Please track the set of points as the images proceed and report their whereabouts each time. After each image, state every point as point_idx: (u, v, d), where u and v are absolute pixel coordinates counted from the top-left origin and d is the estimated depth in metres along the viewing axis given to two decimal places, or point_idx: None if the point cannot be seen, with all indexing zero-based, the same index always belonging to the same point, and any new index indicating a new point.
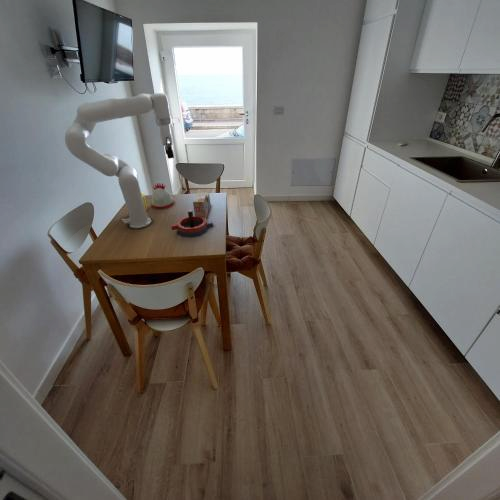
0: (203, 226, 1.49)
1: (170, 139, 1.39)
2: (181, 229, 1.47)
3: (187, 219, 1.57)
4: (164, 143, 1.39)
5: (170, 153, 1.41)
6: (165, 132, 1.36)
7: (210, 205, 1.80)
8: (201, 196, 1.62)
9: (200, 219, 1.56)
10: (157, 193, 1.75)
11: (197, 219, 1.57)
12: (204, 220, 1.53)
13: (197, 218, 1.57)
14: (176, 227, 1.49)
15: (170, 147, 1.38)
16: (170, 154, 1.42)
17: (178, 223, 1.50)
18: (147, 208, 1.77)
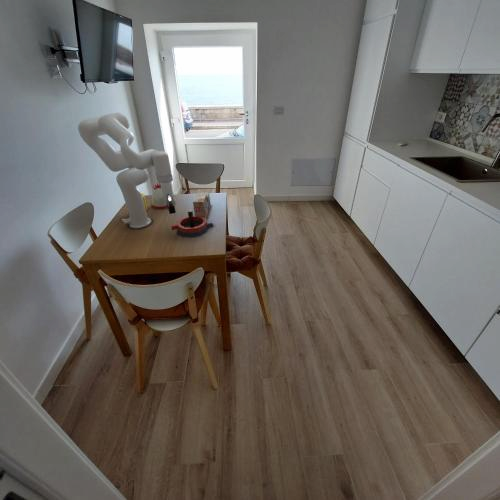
0: (203, 226, 1.49)
1: (171, 196, 1.35)
2: (181, 229, 1.47)
3: (187, 219, 1.57)
4: (165, 200, 1.35)
5: (172, 209, 1.37)
6: (166, 189, 1.33)
7: (210, 205, 1.80)
8: (201, 196, 1.62)
9: (200, 219, 1.56)
10: (157, 193, 1.75)
11: (197, 219, 1.57)
12: (204, 220, 1.53)
13: (197, 218, 1.57)
14: (176, 227, 1.49)
15: (172, 204, 1.34)
16: (172, 210, 1.38)
17: (178, 223, 1.50)
18: (147, 208, 1.77)
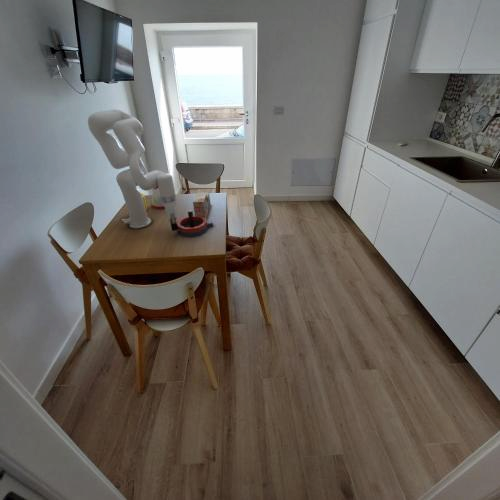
0: (203, 226, 1.49)
1: (175, 215, 1.41)
2: (181, 229, 1.47)
3: (187, 219, 1.57)
4: (169, 219, 1.41)
5: (174, 226, 1.47)
6: (170, 209, 1.38)
7: (210, 205, 1.80)
8: (201, 196, 1.62)
9: (200, 219, 1.56)
10: (157, 193, 1.75)
11: (197, 219, 1.57)
12: (204, 220, 1.53)
13: (197, 218, 1.57)
14: None
15: (174, 222, 1.44)
16: (174, 227, 1.47)
17: (178, 223, 1.50)
18: (147, 208, 1.77)
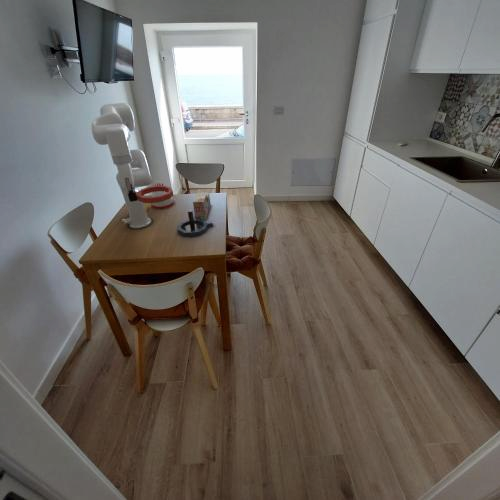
0: (168, 196, 1.23)
1: (130, 180, 1.15)
2: (140, 199, 1.21)
3: (150, 189, 1.31)
4: (123, 185, 1.15)
5: (132, 196, 1.21)
6: (123, 172, 1.13)
7: (210, 205, 1.80)
8: (201, 196, 1.62)
9: (166, 189, 1.31)
10: (157, 193, 1.75)
11: (163, 190, 1.32)
12: (170, 189, 1.27)
13: (163, 188, 1.32)
14: None
15: (131, 190, 1.18)
16: (132, 197, 1.22)
17: (138, 193, 1.25)
18: (147, 208, 1.77)
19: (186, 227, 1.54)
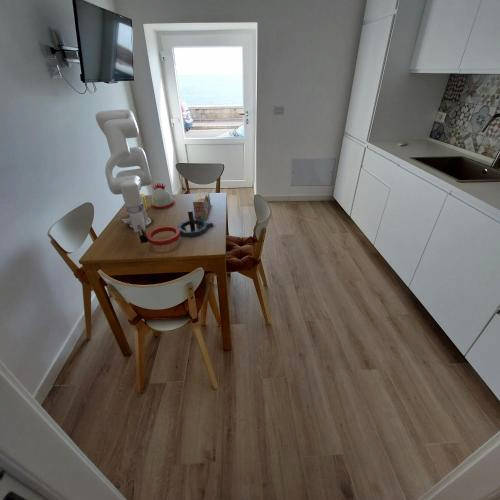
0: (175, 238, 1.35)
1: (142, 226, 1.28)
2: (151, 241, 1.33)
3: (159, 230, 1.43)
4: (136, 231, 1.27)
5: (143, 238, 1.34)
6: (136, 220, 1.25)
7: (210, 205, 1.80)
8: (201, 196, 1.62)
9: (173, 230, 1.43)
10: (157, 193, 1.75)
11: (170, 230, 1.44)
12: (177, 231, 1.39)
13: (170, 229, 1.44)
14: None
15: (142, 234, 1.30)
16: (143, 239, 1.34)
17: (148, 235, 1.37)
18: (147, 208, 1.77)
19: (186, 227, 1.54)
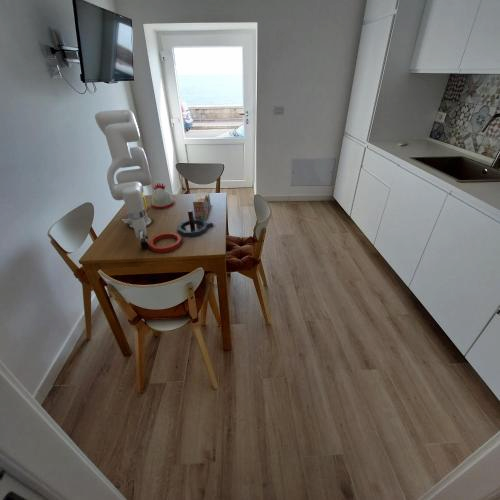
0: (177, 245, 1.38)
1: (144, 232, 1.30)
2: (153, 248, 1.36)
3: (161, 236, 1.45)
4: (137, 236, 1.30)
5: (144, 245, 1.32)
6: (138, 226, 1.27)
7: (210, 205, 1.80)
8: (201, 196, 1.62)
9: (175, 236, 1.45)
10: (157, 193, 1.75)
11: (172, 236, 1.46)
12: (179, 238, 1.42)
13: (172, 235, 1.46)
14: None
15: (144, 241, 1.29)
16: (144, 246, 1.33)
17: (150, 242, 1.39)
18: (147, 208, 1.77)
19: (186, 227, 1.54)
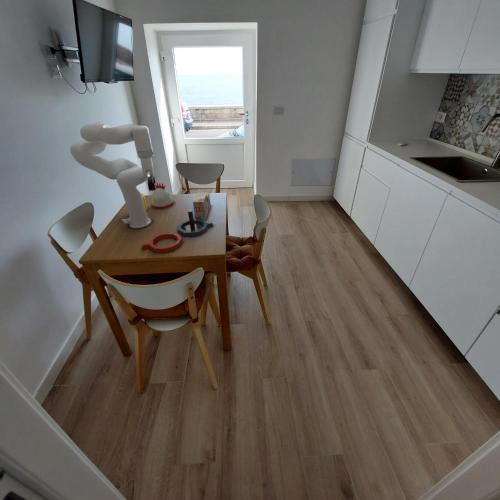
0: (177, 245, 1.38)
1: (151, 172, 1.34)
2: (153, 248, 1.36)
3: (161, 236, 1.45)
4: (145, 176, 1.34)
5: (151, 186, 1.37)
6: (146, 165, 1.31)
7: (210, 205, 1.80)
8: (201, 196, 1.62)
9: (175, 236, 1.45)
10: (157, 193, 1.75)
11: (172, 236, 1.46)
12: (179, 238, 1.42)
13: (172, 235, 1.46)
14: (148, 246, 1.38)
15: (150, 180, 1.33)
16: (151, 187, 1.37)
17: (150, 242, 1.39)
18: (147, 208, 1.77)
19: (186, 227, 1.54)
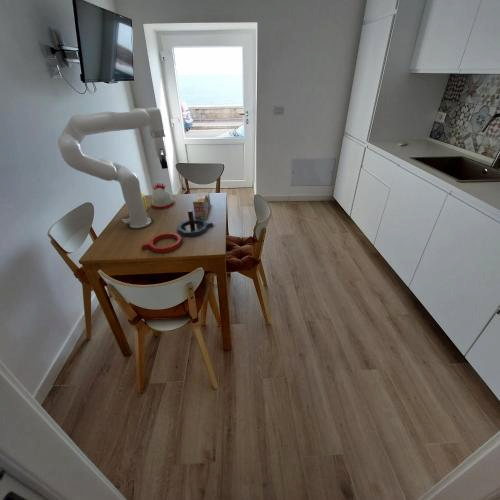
0: (177, 245, 1.38)
1: (164, 151, 1.45)
2: (153, 248, 1.36)
3: (161, 236, 1.45)
4: (158, 154, 1.45)
5: (164, 164, 1.48)
6: (159, 144, 1.43)
7: (210, 205, 1.80)
8: (201, 196, 1.62)
9: (175, 236, 1.45)
10: (157, 193, 1.75)
11: (172, 236, 1.46)
12: (179, 238, 1.42)
13: (172, 235, 1.46)
14: (148, 246, 1.38)
15: (164, 158, 1.45)
16: (164, 165, 1.48)
17: (150, 242, 1.39)
18: (147, 208, 1.77)
19: (186, 227, 1.54)
